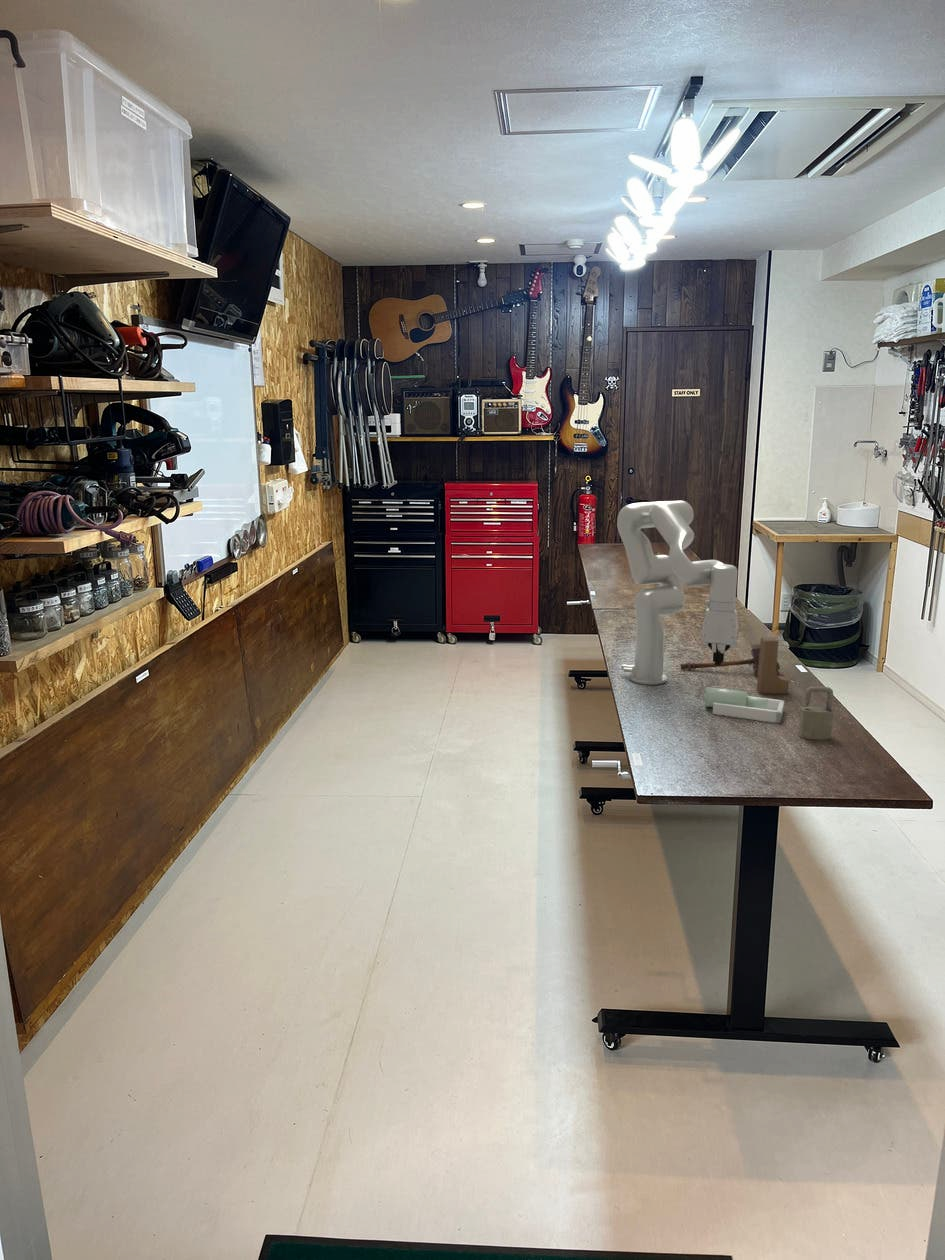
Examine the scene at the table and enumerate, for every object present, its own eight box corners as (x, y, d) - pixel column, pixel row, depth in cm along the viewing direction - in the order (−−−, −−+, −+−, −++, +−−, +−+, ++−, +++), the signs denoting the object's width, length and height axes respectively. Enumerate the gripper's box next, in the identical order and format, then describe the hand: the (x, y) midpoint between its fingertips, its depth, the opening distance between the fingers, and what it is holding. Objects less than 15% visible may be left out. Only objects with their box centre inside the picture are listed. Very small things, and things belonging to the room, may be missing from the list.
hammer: (781, 674, 307) (777, 646, 305) (683, 686, 315) (679, 659, 313) (778, 668, 314) (775, 641, 312) (683, 680, 322) (678, 653, 319)
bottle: (705, 690, 276) (767, 697, 269) (708, 684, 281) (768, 691, 275) (704, 708, 277) (765, 716, 271) (707, 702, 283) (767, 710, 276)
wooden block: (783, 689, 296) (788, 636, 291) (788, 694, 292) (793, 640, 287) (756, 689, 296) (760, 636, 291) (760, 694, 292) (765, 640, 287)
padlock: (798, 733, 259) (803, 684, 255) (827, 734, 258) (833, 685, 254) (801, 738, 255) (806, 688, 251) (831, 740, 254) (837, 689, 250)
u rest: (712, 714, 274) (713, 703, 273) (718, 702, 284) (719, 692, 283) (780, 723, 267) (781, 712, 266) (783, 711, 277) (784, 700, 276)
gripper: (694, 606, 270) (690, 664, 275) (746, 610, 264) (741, 670, 269) (698, 601, 277) (695, 658, 282) (749, 605, 271) (744, 663, 276)
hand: (717, 664), depth 275 cm, fingers closed
